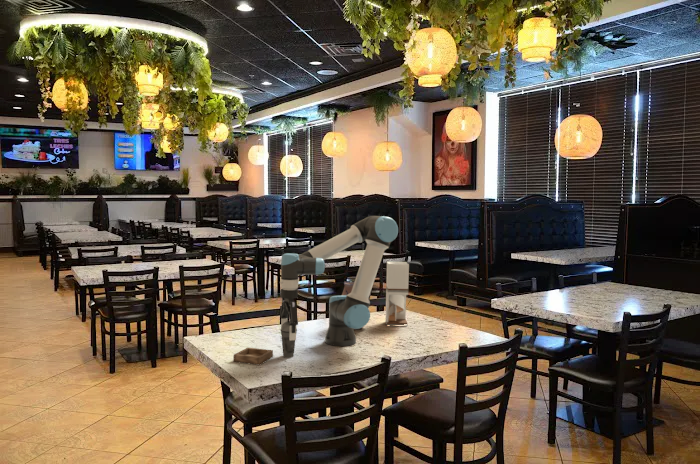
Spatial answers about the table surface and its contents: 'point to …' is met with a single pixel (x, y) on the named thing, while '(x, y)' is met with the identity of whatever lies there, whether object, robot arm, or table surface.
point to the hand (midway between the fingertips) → (288, 336)
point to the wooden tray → (253, 356)
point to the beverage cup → (287, 341)
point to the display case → (396, 292)
